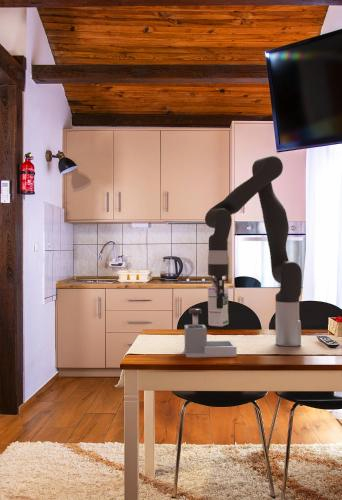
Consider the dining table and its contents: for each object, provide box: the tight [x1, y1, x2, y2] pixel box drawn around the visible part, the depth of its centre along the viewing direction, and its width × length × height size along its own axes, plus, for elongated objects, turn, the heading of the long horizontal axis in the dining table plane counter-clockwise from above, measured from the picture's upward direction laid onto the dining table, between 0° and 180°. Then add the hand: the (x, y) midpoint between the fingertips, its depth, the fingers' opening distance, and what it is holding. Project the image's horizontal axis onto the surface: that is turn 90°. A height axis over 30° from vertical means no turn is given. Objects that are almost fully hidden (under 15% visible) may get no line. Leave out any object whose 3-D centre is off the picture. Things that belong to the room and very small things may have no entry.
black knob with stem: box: [188, 307, 202, 328], centre depth 175 cm, size 4×4×8 cm
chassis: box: [183, 324, 238, 358], centre depth 175 cm, size 18×11×10 cm, turn 92°
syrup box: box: [207, 285, 230, 327], centre depth 175 cm, size 6×6×14 cm
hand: (218, 306), depth 175 cm, fingers closed on syrup box, 7 cm apart
